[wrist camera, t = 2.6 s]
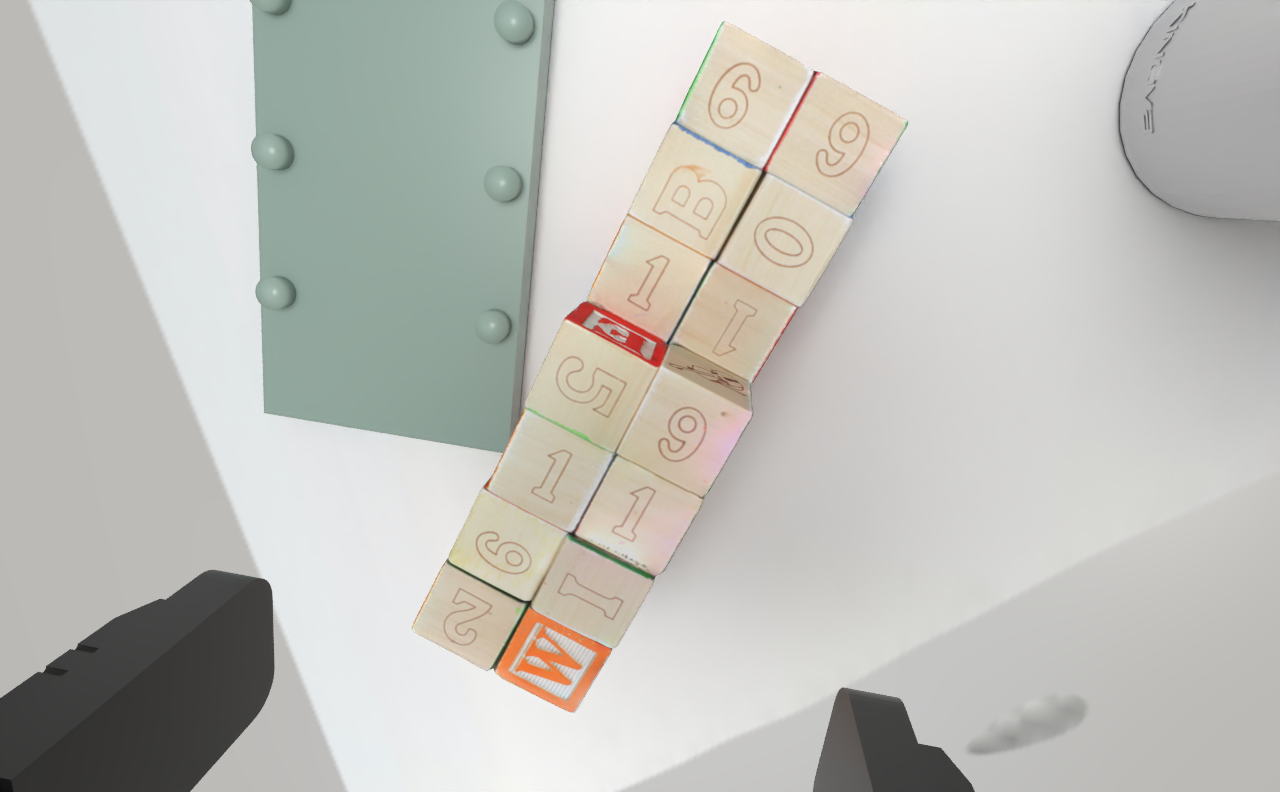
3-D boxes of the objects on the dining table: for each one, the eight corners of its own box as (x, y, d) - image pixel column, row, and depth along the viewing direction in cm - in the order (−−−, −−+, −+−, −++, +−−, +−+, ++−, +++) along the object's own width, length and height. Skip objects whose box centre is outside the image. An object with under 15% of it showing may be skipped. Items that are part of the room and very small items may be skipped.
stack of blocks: (725, 69, 28) (726, -19, 17) (858, 143, 29) (952, 109, 17) (511, 486, 35) (403, 636, 23) (621, 545, 35) (570, 723, 23)
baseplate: (565, -135, 27) (551, -164, 25) (517, 442, 34) (502, 460, 32) (271, -165, 28) (232, -196, 26) (283, 404, 35) (253, 418, 33)
